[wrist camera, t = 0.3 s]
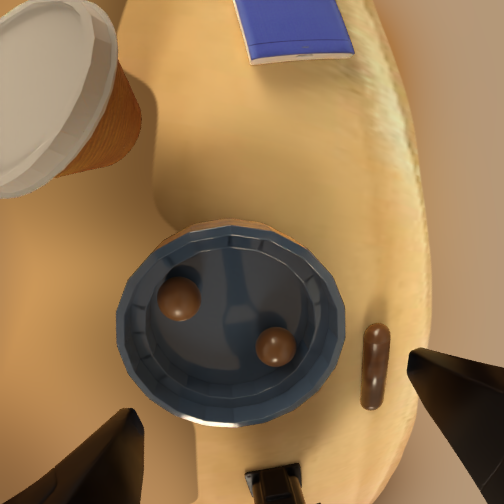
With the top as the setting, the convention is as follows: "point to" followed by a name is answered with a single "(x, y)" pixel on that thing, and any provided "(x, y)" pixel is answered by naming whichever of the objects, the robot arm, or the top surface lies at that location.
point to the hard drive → (292, 30)
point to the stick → (374, 365)
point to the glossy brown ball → (179, 298)
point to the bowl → (231, 324)
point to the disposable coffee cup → (61, 94)
